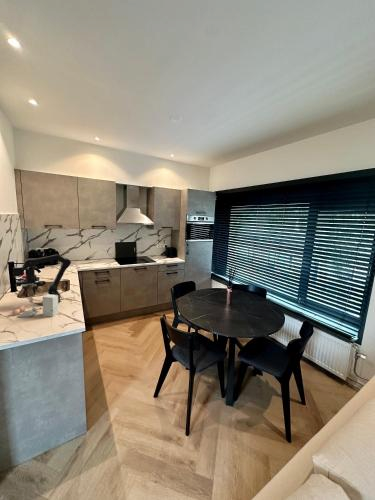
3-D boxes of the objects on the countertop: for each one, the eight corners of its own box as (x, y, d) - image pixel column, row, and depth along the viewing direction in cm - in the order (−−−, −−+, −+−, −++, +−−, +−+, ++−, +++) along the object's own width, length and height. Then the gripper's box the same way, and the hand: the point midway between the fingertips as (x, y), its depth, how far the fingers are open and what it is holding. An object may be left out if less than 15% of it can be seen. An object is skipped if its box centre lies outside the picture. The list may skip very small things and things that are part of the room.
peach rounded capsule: (25, 310, 160) (25, 305, 160) (22, 312, 156) (22, 307, 156) (20, 310, 160) (19, 305, 159) (16, 313, 156) (16, 307, 155)
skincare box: (42, 316, 152) (41, 296, 150) (48, 312, 158) (47, 293, 156) (53, 317, 151) (52, 297, 149) (59, 313, 157) (58, 294, 155)
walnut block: (36, 294, 167) (35, 287, 166) (33, 296, 163) (32, 289, 163) (30, 294, 167) (30, 287, 166) (27, 296, 163) (27, 289, 162)
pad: (38, 311, 159) (38, 310, 158) (30, 317, 150) (30, 316, 150) (25, 312, 157) (25, 311, 157) (17, 317, 149) (17, 316, 149)
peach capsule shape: (21, 313, 155) (21, 308, 155) (17, 315, 151) (17, 310, 151) (15, 313, 155) (15, 308, 154) (11, 316, 151) (11, 310, 150)
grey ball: (38, 309, 162) (37, 306, 161) (35, 311, 159) (35, 307, 158) (33, 310, 161) (33, 306, 161) (31, 311, 158) (31, 308, 158)
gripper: (48, 272, 172) (49, 290, 174) (23, 272, 169) (25, 290, 172) (41, 275, 161) (42, 295, 163) (14, 276, 158) (16, 295, 161)
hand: (31, 294), depth 165 cm, fingers closed on walnut block, 4 cm apart
